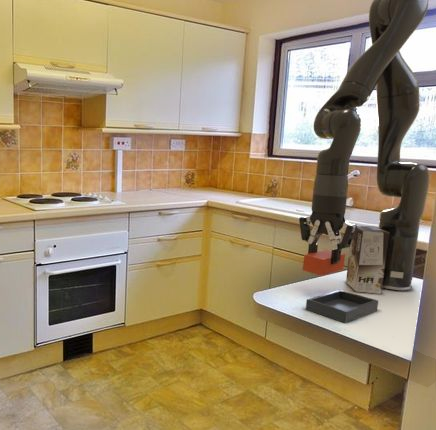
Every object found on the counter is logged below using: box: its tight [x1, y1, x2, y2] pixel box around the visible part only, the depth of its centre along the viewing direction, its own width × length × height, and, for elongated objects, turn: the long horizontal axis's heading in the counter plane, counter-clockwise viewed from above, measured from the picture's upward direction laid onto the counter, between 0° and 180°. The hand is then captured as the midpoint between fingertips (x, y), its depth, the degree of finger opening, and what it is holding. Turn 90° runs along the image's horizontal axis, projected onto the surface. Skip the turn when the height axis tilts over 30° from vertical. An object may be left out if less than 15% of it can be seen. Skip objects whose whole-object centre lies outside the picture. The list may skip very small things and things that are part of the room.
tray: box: [305, 289, 379, 324], centre depth 104 cm, size 14×9×2 cm, turn 126°
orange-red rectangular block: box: [302, 249, 346, 277], centre depth 114 cm, size 10×5×4 cm, turn 125°
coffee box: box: [345, 225, 389, 295], centre depth 120 cm, size 9×6×16 cm
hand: (323, 260), depth 113 cm, fingers closed on orange-red rectangular block, 5 cm apart
